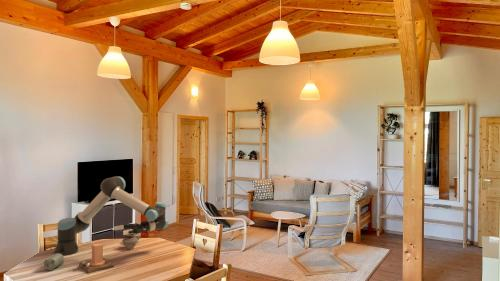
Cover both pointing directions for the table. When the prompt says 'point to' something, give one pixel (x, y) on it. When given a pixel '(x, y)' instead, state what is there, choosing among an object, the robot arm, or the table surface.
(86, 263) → the dowels
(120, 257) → the table surface
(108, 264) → the plate
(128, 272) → the table surface
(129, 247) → the pottery
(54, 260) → the spool
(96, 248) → the tall pillar on disc
